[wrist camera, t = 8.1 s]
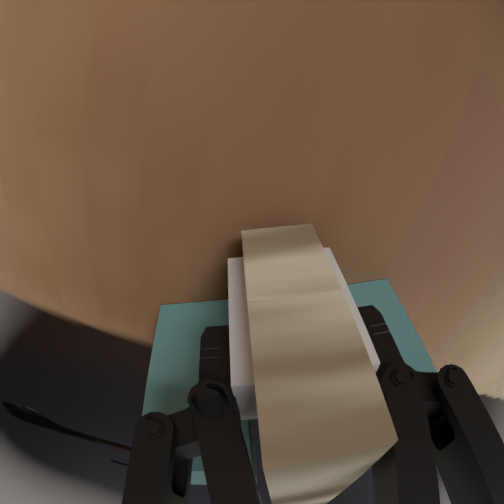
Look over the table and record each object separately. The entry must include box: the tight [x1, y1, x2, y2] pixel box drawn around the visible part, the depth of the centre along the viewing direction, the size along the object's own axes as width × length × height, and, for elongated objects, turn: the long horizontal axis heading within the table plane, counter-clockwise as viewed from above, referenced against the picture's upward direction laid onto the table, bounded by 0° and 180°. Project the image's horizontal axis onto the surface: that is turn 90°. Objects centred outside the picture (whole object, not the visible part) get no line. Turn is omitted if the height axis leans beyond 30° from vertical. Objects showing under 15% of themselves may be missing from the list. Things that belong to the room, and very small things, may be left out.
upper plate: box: [241, 223, 398, 504], centre depth 14 cm, size 14×3×10 cm, turn 5°
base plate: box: [142, 279, 437, 485], centre depth 15 cm, size 14×3×10 cm, turn 95°
